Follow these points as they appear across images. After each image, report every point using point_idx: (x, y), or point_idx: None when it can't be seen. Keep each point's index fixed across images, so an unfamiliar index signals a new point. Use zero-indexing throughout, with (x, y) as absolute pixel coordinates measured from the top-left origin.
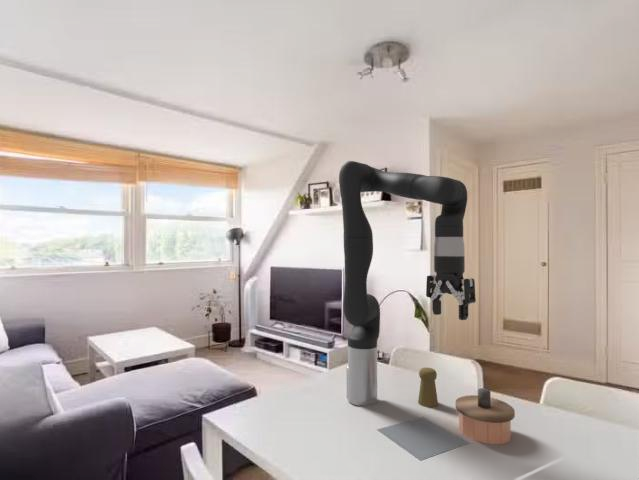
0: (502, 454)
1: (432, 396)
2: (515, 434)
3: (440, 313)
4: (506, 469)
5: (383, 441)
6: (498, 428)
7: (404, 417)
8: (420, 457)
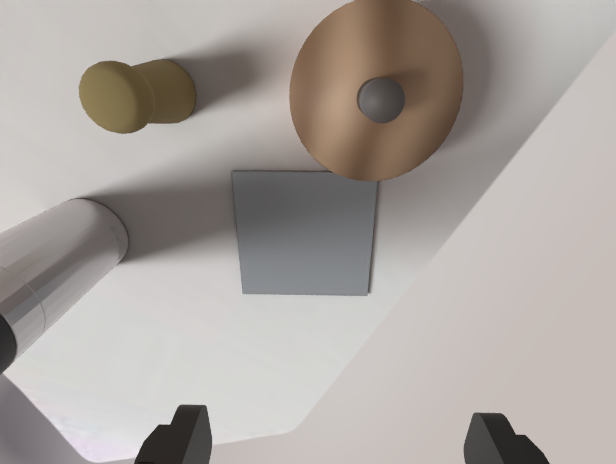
0: None
1: (179, 101)
2: None
3: (204, 411)
4: (473, 184)
5: (280, 301)
6: None
7: (211, 205)
8: (361, 290)
